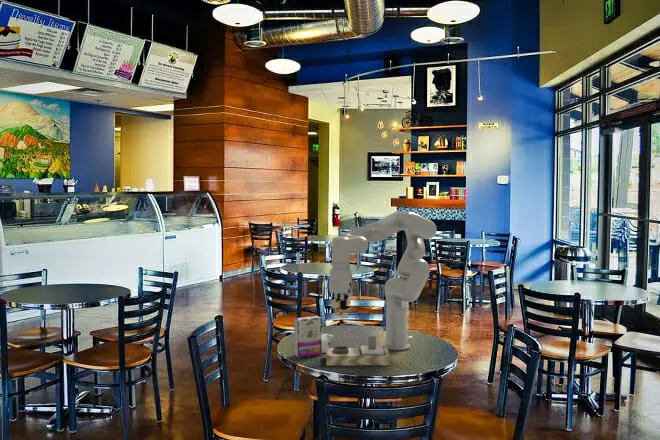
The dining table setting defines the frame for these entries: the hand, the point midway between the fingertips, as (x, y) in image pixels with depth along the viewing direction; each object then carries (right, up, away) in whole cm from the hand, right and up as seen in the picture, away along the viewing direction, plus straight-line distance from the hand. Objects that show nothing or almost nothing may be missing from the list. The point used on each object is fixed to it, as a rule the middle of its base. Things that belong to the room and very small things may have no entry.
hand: (341, 308), depth 252 cm
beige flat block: (+7, -21, -6) cm, 23 cm away
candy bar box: (-14, -21, +3) cm, 25 cm away
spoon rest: (-9, -20, +18) cm, 29 cm away
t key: (0, -3, 0) cm, 3 cm away
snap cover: (+13, -17, -6) cm, 22 cm away
